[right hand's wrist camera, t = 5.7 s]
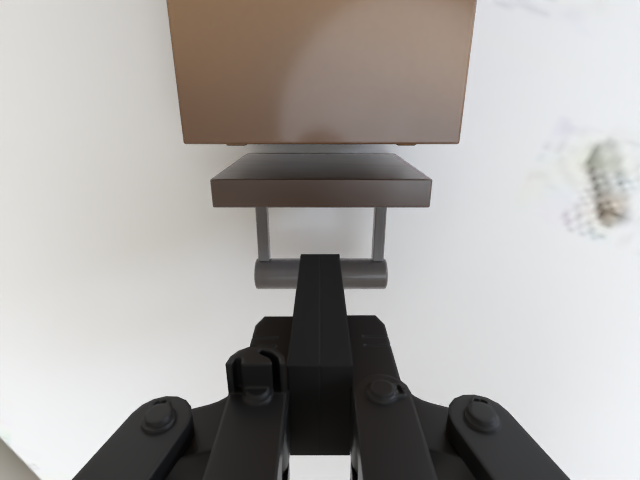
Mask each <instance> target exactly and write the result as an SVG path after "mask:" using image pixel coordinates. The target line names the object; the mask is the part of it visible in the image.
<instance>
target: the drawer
mask: <svg viewBox="0 0 640 480" xmlns="http://www.w3.org/2000/svg"><path fill="white" fill-rule="evenodd" d="M227 145H228V146H245V145H247V144H227ZM396 145H416V144H396ZM210 181H211V191H212V201H213V207H256V223H257V239H258V255H259V259H257V260H256V263H255V274H254V276H255V285H256V288H257V289H296V288H297V280H298V272H299V264H300V259H270V238H269V217H268V207H374V220H373V239H372V259H340V264H341V272H342V280H343V288H344V289H385V288H386V286H387V278H388V271H387V263H386V260H385V259H383V257H384V241H385V225H386V209H387V207H429V206H430V197H431V187H432V179H430V178H429V177H427V176H426V175H425V174H423V173H422V172H420V171H419V170H417V169H416V168H414V167H413V166H412V165H410V164H409V163H407V162H406V161H404V160H403V159H401V158H400V157H399V156H397V155H396V154H246V155H245V156H243V157H242V158H241V159H239V160H238V161H236V162H235V163H234V164H232V165H231V166H229V167H228V168H226V169H225V170H224V171H222V172H221V173H219V174H218V175H217V176H215V177H214V178H212V179H211V180H210Z"/></svg>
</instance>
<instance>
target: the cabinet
mask: <svg viewBox="0 0 640 480" xmlns="http://www.w3.org/2000/svg"><path fill="white" fill-rule="evenodd" d="M476 2H477V0H167V8H168V17H169V25H170V33H171V41H172V50H173V58H174V66H175V74H176V83H177V91H178V99H179V107H180V116H181V124H182V132H183V140H184V143H185V144H458V143H459V140H460V132H461V123H462V115H463V107H464V99H465V91H466V83H467V75H468V67H469V59H470V51H471V43H472V35H473V26H474V18H475V10H476Z"/></svg>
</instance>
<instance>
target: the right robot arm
mask: <svg viewBox="0 0 640 480" xmlns="http://www.w3.org/2000/svg"><path fill="white" fill-rule="evenodd" d="M226 373H227V382H228V391H229V394H228V396H227V397H226V398H224V399H222V400H220V401H218V402H216V403H213V404H210V405H206V406H202V407H198V408H194V409H191V406H190V405H189V403H188V402H187V401H186V400H184V399H182V398H179V397H173V396H165V397H161V398H157V399H153V400H151V401H149V402H147V403H145V404H143V405H142V406H140V407H139V408H138V409H137V410H136V411H134V412H133V413H132V414H131V415H130V416H129V417H128V419H127V420H126V421H125V422H124V423H123V424H122V425H121V426H120V427H119V428H118V430H117V431H116V432H115V433H114V434H113V435H112V436H111V437H110V438H109V439H108V441H107V442H106V443H105V444H104V445H103V446H102V447H101V448H100V449H99V450H98V452H97V453H96V454H95V455H94V456H93V457H92V458H91V459H90V460H89V461H88V463H87V464H86V465H85V466H84V467H83V468H82V469H81V470H80V471H79V472H78V474H77V475H76V476H75V477H74V478H73V479H72V480H289V479H290V472H289V456H290V455H350V454H351V472H350V480H570V479H569V478H568V477H567V476H566V474H565V473H564V472H563V471H562V470H561V469H560V468H559V467H558V466H557V465H556V463H555V462H554V461H553V460H552V459H551V458H550V457H549V456H548V455H547V454H546V453H545V451H544V450H543V449H542V448H541V447H540V446H539V445H538V444H537V443H536V442H535V441H534V439H533V438H532V437H531V436H530V435H529V434H528V433H527V432H526V431H525V430H524V429H523V427H522V426H521V425H520V424H519V423H518V422H517V421H516V420H515V419H514V418H513V417H512V415H511V414H510V413H509V412H508V411H507V410H505V409H504V408H503V407H502V406H501V405H499V404H498V403H496V402H494V401H492V400H490V399H488V398H486V397H482V396H477V395H462V396H460V397H457V398H455V399H454V400H453V401H452V402H451V403H450V405H449V408H448V407H444V406H440V405H436V404H432V403H429V402H426V401H423V400H421V399H419V398H417V397H415V396H414V395H412V394H411V392H410V390H409V388H408V387H407V385H406V384H404V383H403V382H402V381H401V380H400V377H399V374H398V370H397V367H396V363H395V360H394V356H393V353H392V349H391V346H390V342H389V339H388V337H387V332H386V328H385V325H384V324H383V323H382V322H381V321H380V320H379V319H378V318H377V317H376V316H375V315H347V312H346V304H345V296H344V288H343V280H342V272H341V264H340V256H339V254H301V256H300V264H299V272H298V280H297V288H296V296H295V304H294V312H293V317H264V318H263V319H262V320H261V321H260V322H259V323H258V324H257V325H256V326H255V330H254V333H253V338H252V340H251V344H250V347H248V348H245V349H242V350H240V351H238V352H236V353H235V354H233V355H232V356H231V357H230V358H229V360H228V361H227V363H226Z"/></svg>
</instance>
